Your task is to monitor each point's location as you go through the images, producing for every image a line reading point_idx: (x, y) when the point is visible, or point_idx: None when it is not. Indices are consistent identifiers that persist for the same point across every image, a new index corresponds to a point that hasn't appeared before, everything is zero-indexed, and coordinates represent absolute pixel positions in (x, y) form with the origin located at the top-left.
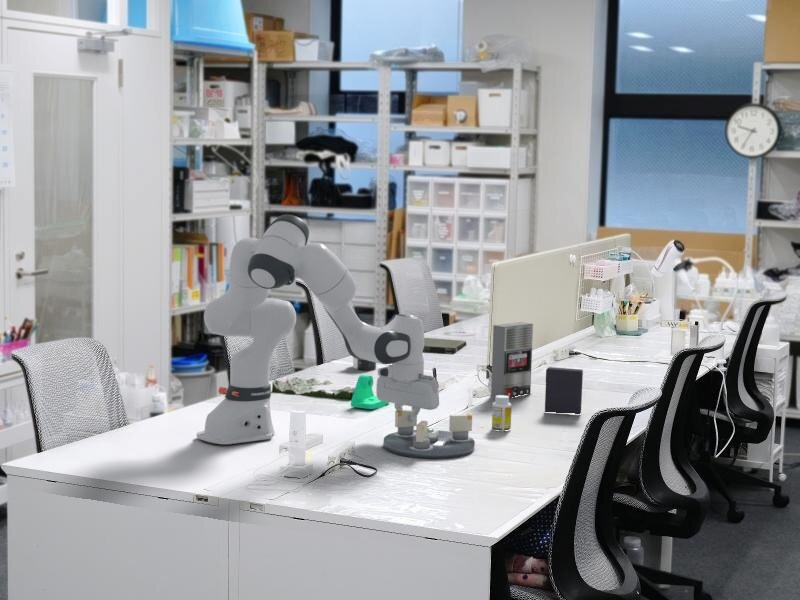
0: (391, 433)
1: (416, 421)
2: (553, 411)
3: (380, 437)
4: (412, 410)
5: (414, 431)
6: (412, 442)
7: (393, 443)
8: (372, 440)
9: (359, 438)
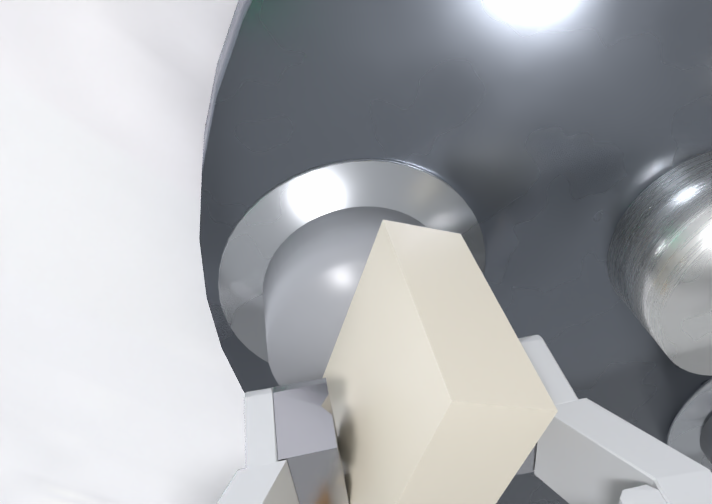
0: (233, 368)
1: (480, 278)
2: None
3: (59, 330)
4: (485, 461)
5: (310, 109)
6: (612, 385)
7: (515, 494)
8: (135, 426)
9: (12, 471)
